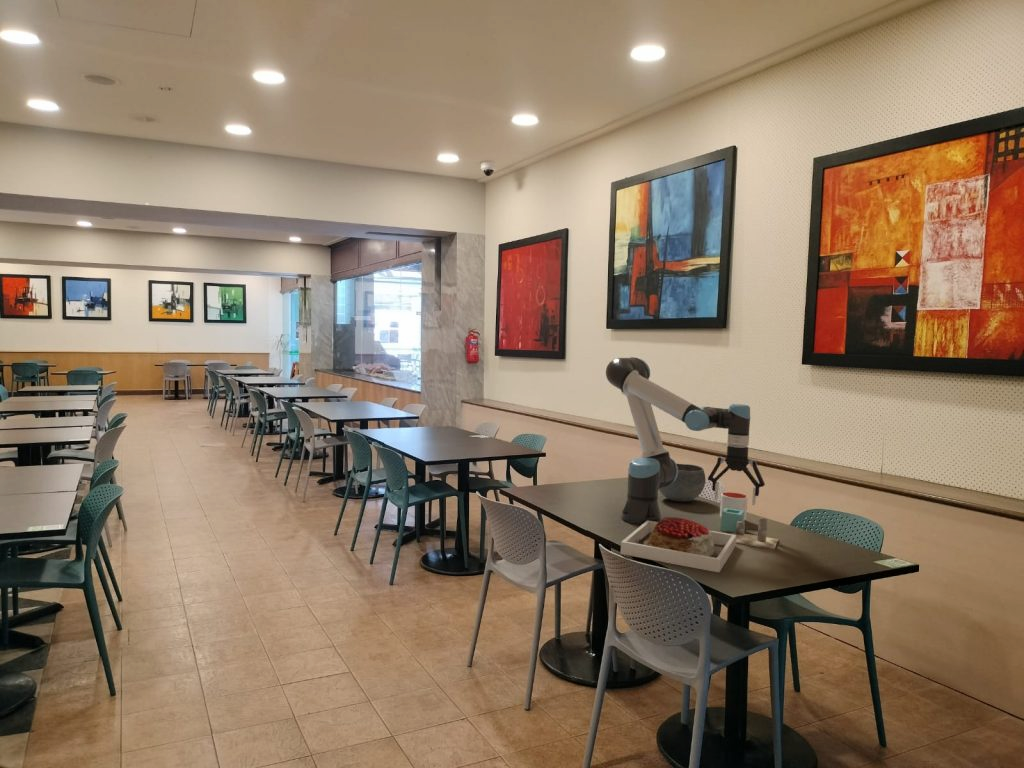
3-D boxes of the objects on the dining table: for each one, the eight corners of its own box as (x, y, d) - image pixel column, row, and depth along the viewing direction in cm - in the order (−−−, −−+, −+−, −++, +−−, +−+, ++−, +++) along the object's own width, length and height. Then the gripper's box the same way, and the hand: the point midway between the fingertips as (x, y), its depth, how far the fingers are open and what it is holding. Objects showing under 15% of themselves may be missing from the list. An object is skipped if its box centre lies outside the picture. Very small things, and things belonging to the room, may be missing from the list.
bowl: (709, 499, 312) (712, 466, 311) (694, 509, 294) (697, 473, 293) (664, 492, 323) (666, 459, 322) (647, 500, 306) (649, 466, 304)
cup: (747, 524, 274) (749, 499, 273) (720, 522, 276) (722, 496, 275) (744, 518, 284) (746, 493, 283) (718, 515, 286) (720, 491, 285)
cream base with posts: (726, 541, 250) (728, 517, 249) (732, 533, 260) (733, 510, 260) (774, 549, 243) (776, 525, 242) (778, 540, 253) (780, 517, 253)
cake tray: (620, 553, 230) (621, 541, 230) (646, 531, 258) (647, 520, 258) (719, 572, 216) (720, 559, 216) (735, 546, 244) (736, 535, 244)
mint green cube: (720, 530, 264) (721, 511, 263) (723, 525, 270) (725, 508, 269) (739, 533, 261) (741, 514, 260) (742, 529, 267) (744, 510, 266)
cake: (631, 540, 246) (633, 512, 246) (698, 541, 249) (700, 513, 248) (651, 562, 224) (653, 531, 223) (725, 563, 226) (727, 532, 226)
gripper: (701, 443, 265) (698, 499, 266) (772, 450, 254) (768, 508, 255) (705, 441, 272) (702, 495, 273) (774, 447, 261) (771, 504, 262)
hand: (734, 502), depth 264 cm, fingers open, 13 cm apart
